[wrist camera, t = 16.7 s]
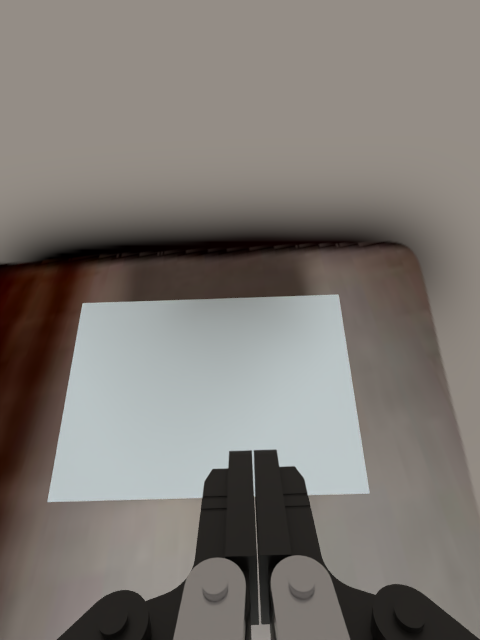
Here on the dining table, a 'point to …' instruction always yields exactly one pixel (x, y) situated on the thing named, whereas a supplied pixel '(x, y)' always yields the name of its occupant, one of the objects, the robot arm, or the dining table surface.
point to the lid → (206, 397)
